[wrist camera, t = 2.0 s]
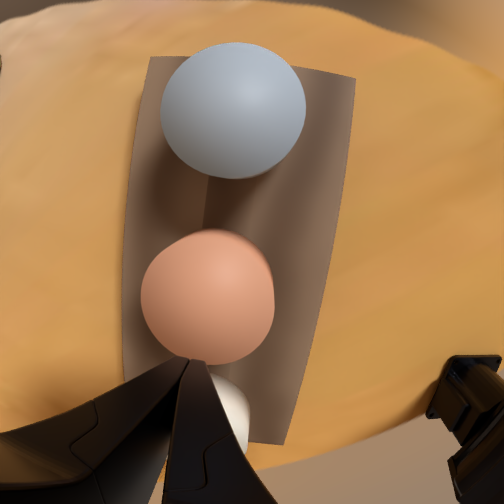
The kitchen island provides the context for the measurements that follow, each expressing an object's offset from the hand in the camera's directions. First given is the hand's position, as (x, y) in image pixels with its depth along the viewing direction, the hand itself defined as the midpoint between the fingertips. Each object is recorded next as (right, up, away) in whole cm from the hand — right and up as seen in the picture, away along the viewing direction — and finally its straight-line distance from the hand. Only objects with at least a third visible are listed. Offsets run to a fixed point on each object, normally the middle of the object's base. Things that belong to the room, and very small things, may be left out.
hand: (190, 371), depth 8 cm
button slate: (+1, +10, +9) cm, 14 cm away
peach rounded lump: (0, +2, +11) cm, 11 cm away
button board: (0, +2, +12) cm, 13 cm away
